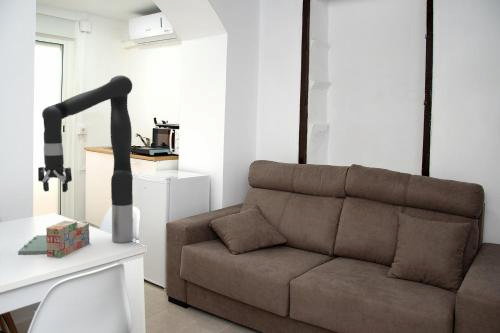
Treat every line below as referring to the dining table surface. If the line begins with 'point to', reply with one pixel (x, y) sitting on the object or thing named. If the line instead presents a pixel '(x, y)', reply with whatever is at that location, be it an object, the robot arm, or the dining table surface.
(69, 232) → the stack of blocks
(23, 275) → the dining table surface
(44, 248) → the baseplate
